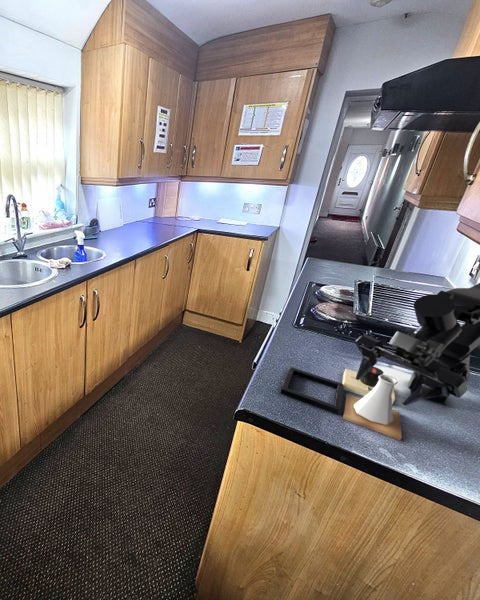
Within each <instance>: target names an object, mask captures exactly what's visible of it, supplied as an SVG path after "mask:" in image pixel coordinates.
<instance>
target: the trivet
mask: <svg viewBox="0 0 480 600" xmlns="http://www.w3.org/2000/svg"><path fill="white" fill-rule="evenodd" d="M360 399H361V398H360V397H357V396H353V395H351V394H348V393H346V394H345V397H344V406H343V413H342V415H343V416H342V419H343V420H345V421H348V422H351V423H354V424H356V425H358V426H361V427H364V428H366V429H369V430H371V431H374V432H377V433H380V434H383V435H385V436H388V437H391V438H394V439H395V440H399V441H401V440H402V438H403V437H402V436H403V435H402V426H401V424H402V423H401V416H400V414H401V413H400V411H398V410H397V409H396V410H395V409H393V408H392V411H393V421H392V422H391V423H389V424H388V425H385V424H381V423H377V422H373V421H370V420H368V419H367V418H365V417H363V416H361V415H359V414H357V413H356V410H355V408H354V406H353V405H354V404H355V403H357V402H358V401H359V400H360Z"/></svg>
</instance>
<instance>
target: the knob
mask: <svg viewBox="0 0 480 600" xmlns="http://www.w3.org/2000/svg"><path fill="white" fill-rule="evenodd" d="M381 374H383V375H384V371H383V370H382V369H380V368H379V367H377V366H373V367H372V368H371V369H370V370H369V371H368V372H367V373H366V374H365V375H364V376H363V377H362V378H361V379H360V381H361V382H362V383H363V384H365V385H367V386H371V387H375V386H376V385H377V383H378V381H379V378H378V377H379V376H380V375H381Z"/></svg>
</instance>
